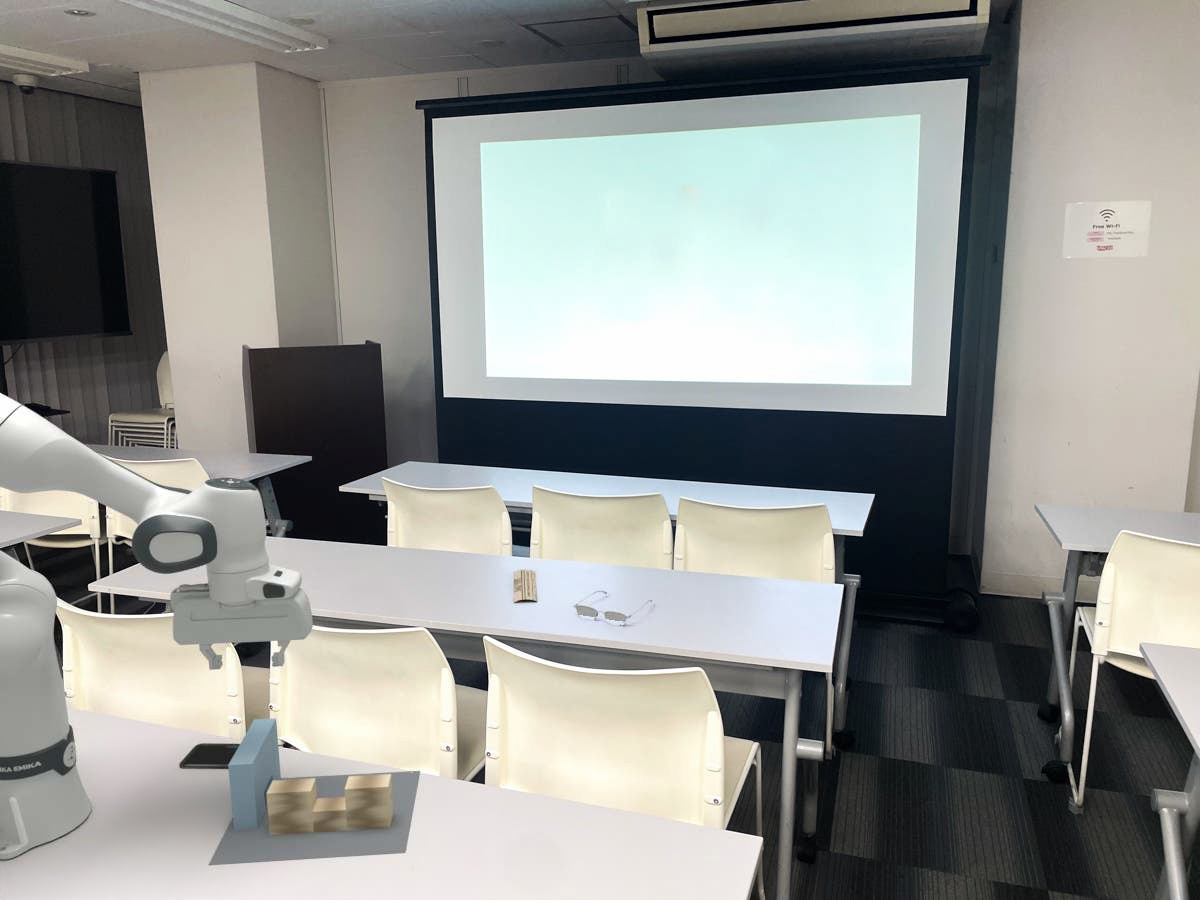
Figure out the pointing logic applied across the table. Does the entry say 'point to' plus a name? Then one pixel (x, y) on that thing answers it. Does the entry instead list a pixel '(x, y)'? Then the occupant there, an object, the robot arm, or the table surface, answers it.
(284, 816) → the beech rail
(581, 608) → the eyeglasses
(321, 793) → the mat
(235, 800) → the blue plate
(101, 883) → the table surface
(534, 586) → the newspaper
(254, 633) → the robot arm
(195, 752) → the phone
